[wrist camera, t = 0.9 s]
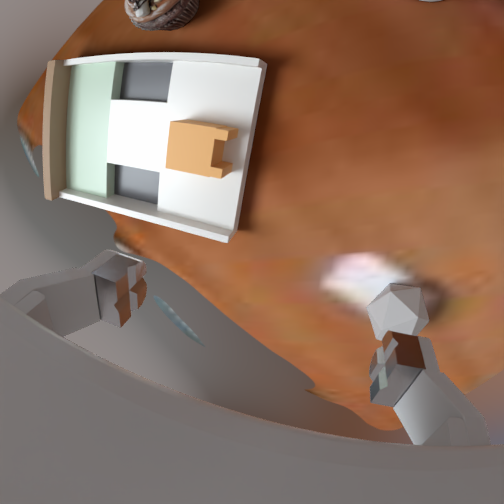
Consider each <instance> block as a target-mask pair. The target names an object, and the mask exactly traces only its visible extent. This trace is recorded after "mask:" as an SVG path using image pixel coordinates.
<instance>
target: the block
mask: <svg viewBox="0 0 504 504" xmlns="http://www.w3.org/2000/svg"><path fill="white" fill-rule="evenodd" d="M238 130H239V129H238V128H233V127H227V126H226V125H220V124H214V123H207V122H200V121H193V120H186V119H184V120H176V121H170V127H169V136H168V145H167V155H166V166H165V168H167V169H172V170H177V171H182V172H187V173H192V174H197V175H201V176H206V177H214V178H219V179H222V178H223V177H225V176H226V175H228V174H229V173H231V172H232V166H233V163H229V162H225V161H222V157H223V151H224V144H225V141H228V140H231V139H235V138H237V135H238Z"/></svg>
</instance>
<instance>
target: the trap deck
mask: <svg viewBox="0 0 504 504" xmlns="http://www.w3.org/2000/svg"><path fill="white" fill-rule="evenodd" d="M266 69H267V63H265V62H264V61H262V60H261V59H258V58H250V57H242V56H232V55H221V54H207V53H184V52H146V53H124V54H110V55H99V56H90V57H82V58H75V59H68V60H53V61H48V66H47V74H46V84H45V95H44V110H43V176H44V192H45V199H48V200H54V199H56V198H58V197H62V198H65V199H69V200H73V201H76V202H80V203H83V204H88V205H91V206H94V207H98V208H102V209H105V210H109V211H113V212H116V213H120V214H123V215H127V216H131V217H134V218H138V219H142V220H145V221H149V222H152V223H156V224H160V225H163V226H167V227H171V228H174V229H178V230H181V231H185V232H189V233H192V234H196V235H200V236H203V237H207V238H210V239H214V240H218V241H221V242H225V243H228V242H229V241H230V239H231V238H232V237H233V236H234V234H235V233H236V232H237V229H238V223H239V217H240V212H241V206H242V200H243V194H244V188H245V183H246V177H247V171H248V166H249V160H250V155H251V149H252V143H253V138H254V133H255V127H256V122H257V116H258V111H259V106H260V100H261V95H262V90H263V84H264V79H265V74H266ZM184 119H186V120H193V121H200V122H207V123H214V124H220V125H226V126H227V127H233V128H238V129H239V130H238V135H237V138H235V139H231V140H228V141H225V144H224V151H223V157H222V161H225V162H229V163H233V166H232V172H231V173H229V174H228V175H226V176H225V177H223V178H222V179H219V178H214V177H206V176H201V175H197V174H192V173H187V172H182V171H177V170H172V169H167V168H165V166H166V155H167V145H168V136H169V127H170V121H176V120H184Z"/></svg>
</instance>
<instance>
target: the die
mask: <svg viewBox="0 0 504 504" xmlns="http://www.w3.org/2000/svg"><path fill="white" fill-rule="evenodd" d="M366 308H367V311H368V314H369V317H370V320H371V323H372V327H373V330H374V333H375V336H376V339H378V340H382V339H383V337H384V335H385V333H386V332H387V331H388V330H390V331H395V332H399V333H404V334H409V335H413V336H417V335H418V334H419V332H420V331H421V330H422V329H423V328H424V327H425V325H426V324H427V323H428V322H429V317H428V313H427V309H426V306H425V302H424V298H423V295H422V291H421V288H420V287H412V286H405V285H398V284H389V285H388V286H387V287H386V288H385V289H384V290H383V291H382V292H381V293H380V294H379V295H378V296H377V297H376V298H375V299H374V300H373V301H372V302H371V303H370V304H369V305H368V306H367V307H366Z"/></svg>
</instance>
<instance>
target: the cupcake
mask: <svg viewBox="0 0 504 504" xmlns="http://www.w3.org/2000/svg"><path fill="white" fill-rule="evenodd" d="M124 8H125V11H126V12H127V14H128V15H129V16H130V19H132V20H131V22H133V24H134V25H136V27H138V28H141V29H142V30H144V29H145V30H150V31H153V30H169V31H171V30H174V29H179V28H180V27H184V25H185V24H186V23H187V22H189V21H190V20H191V19H192V18H193V17H194V15H195V13H196V12H197V9H198V8H199V0H125V3H124Z"/></svg>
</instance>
